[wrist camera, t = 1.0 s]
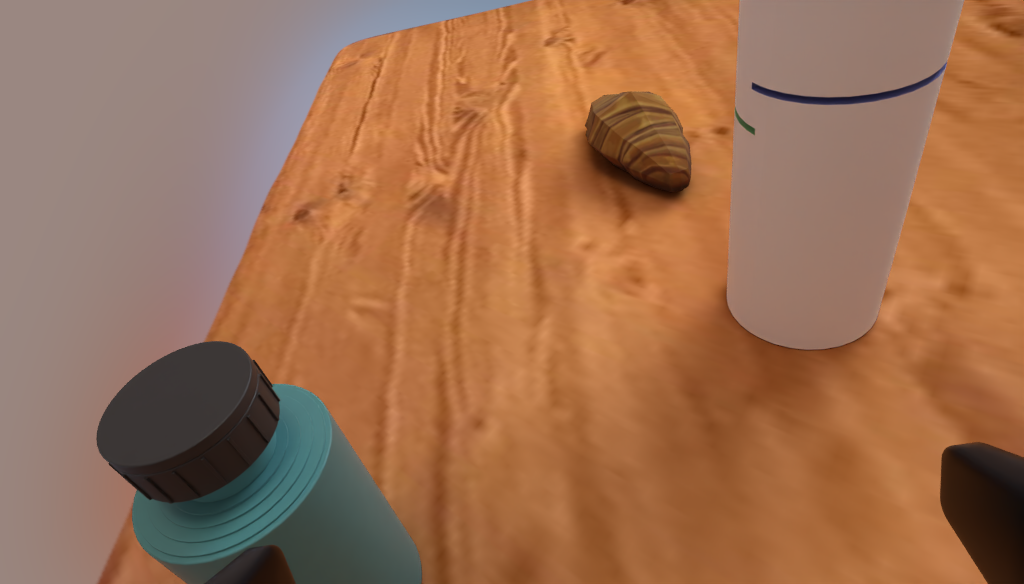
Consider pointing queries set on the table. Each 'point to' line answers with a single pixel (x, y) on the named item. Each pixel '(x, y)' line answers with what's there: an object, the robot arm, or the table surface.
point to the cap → (190, 422)
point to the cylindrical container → (827, 158)
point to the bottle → (288, 511)
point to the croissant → (641, 138)
